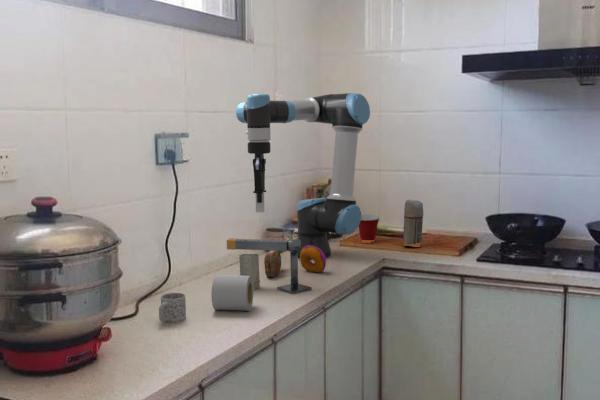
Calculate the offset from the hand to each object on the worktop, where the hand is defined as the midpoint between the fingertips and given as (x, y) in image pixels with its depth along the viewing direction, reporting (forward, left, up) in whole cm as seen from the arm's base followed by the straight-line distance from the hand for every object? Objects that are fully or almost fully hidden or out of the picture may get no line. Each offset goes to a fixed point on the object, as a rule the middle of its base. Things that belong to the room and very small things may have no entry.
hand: (260, 212), depth 214 cm
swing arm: (+4, +7, -11) cm, 14 cm away
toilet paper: (+25, +19, -24) cm, 40 cm away
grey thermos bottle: (-84, -3, -24) cm, 88 cm away
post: (-2, +15, -24) cm, 28 cm away
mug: (+44, +16, -24) cm, 53 cm away
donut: (-22, +2, -24) cm, 33 cm away
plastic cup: (-77, -22, -24) cm, 84 cm away
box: (+7, +3, -24) cm, 25 cm away
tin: (-10, -6, -24) cm, 27 cm away
